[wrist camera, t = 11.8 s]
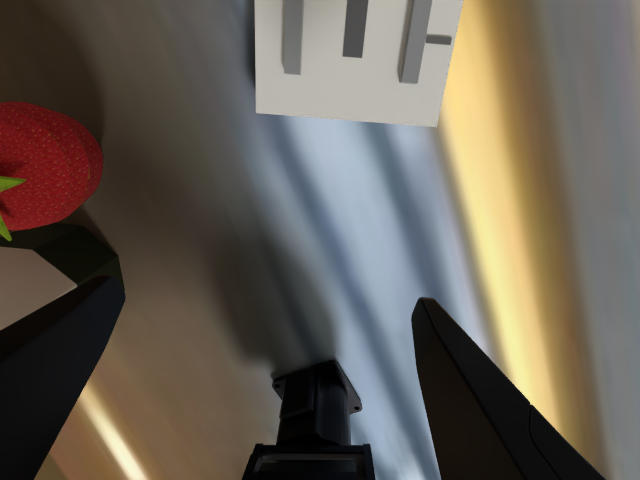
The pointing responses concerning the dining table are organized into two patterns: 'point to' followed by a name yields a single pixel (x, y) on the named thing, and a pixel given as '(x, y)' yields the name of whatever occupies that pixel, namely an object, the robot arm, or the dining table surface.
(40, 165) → the strawberry
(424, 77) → the dimmer console
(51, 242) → the wine bottle
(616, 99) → the dining table surface
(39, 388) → the robot arm
